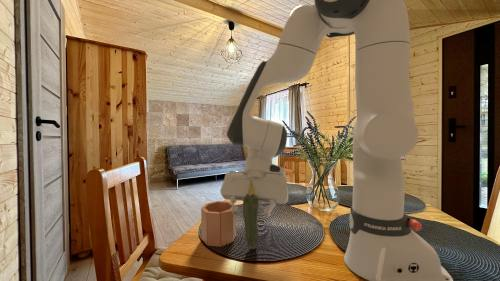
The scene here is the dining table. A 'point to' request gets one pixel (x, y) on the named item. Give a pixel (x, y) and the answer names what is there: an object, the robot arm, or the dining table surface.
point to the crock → (218, 223)
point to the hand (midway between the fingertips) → (250, 214)
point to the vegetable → (251, 216)
